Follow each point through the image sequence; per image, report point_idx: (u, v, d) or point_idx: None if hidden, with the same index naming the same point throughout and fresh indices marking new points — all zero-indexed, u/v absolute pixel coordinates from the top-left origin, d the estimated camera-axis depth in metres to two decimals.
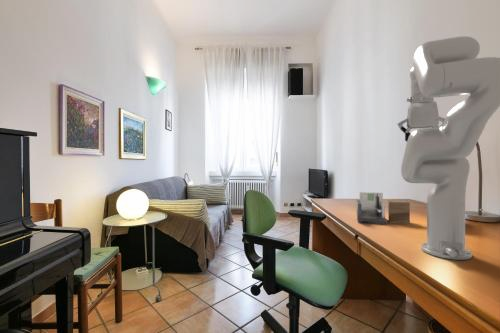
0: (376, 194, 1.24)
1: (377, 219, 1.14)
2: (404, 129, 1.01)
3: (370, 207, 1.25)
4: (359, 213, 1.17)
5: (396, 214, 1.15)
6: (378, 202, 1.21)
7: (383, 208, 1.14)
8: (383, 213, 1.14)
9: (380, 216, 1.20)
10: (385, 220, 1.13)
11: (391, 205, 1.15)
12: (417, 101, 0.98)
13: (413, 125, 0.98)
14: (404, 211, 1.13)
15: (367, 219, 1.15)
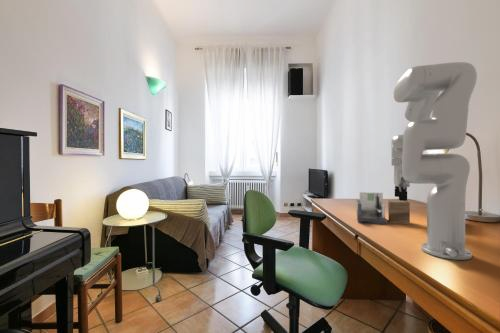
0: (376, 194, 1.24)
1: (377, 219, 1.14)
2: None
3: (370, 207, 1.25)
4: (359, 213, 1.17)
5: (396, 214, 1.15)
6: (378, 202, 1.21)
7: (383, 208, 1.14)
8: (383, 213, 1.14)
9: (380, 216, 1.20)
10: (385, 220, 1.13)
11: (391, 205, 1.15)
12: None
13: None
14: (404, 211, 1.13)
15: (367, 219, 1.15)
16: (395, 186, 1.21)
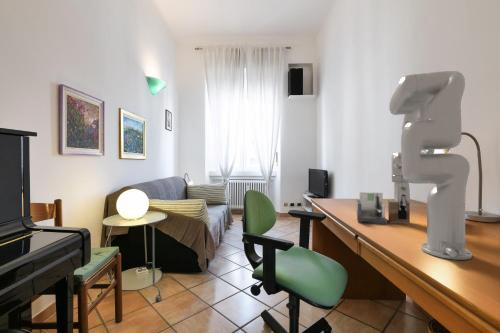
0: (376, 194, 1.24)
1: (377, 219, 1.14)
2: None
3: (370, 207, 1.25)
4: (359, 213, 1.17)
5: (395, 213, 1.15)
6: (378, 202, 1.21)
7: (383, 208, 1.14)
8: (383, 213, 1.14)
9: (380, 216, 1.20)
10: (385, 220, 1.13)
11: (391, 205, 1.15)
12: (409, 181, 1.12)
13: None
14: None
15: (367, 219, 1.15)
16: None
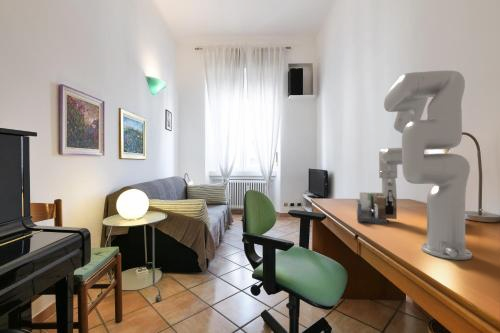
0: (376, 194, 1.24)
1: (377, 219, 1.14)
2: (391, 203, 1.13)
3: (370, 207, 1.25)
4: (359, 213, 1.17)
5: (383, 209, 1.16)
6: (372, 202, 1.22)
7: (376, 208, 1.15)
8: (376, 213, 1.16)
9: None
10: (385, 220, 1.13)
11: (378, 200, 1.17)
12: (396, 177, 1.14)
13: (396, 198, 1.13)
14: None
15: (367, 219, 1.15)
16: None
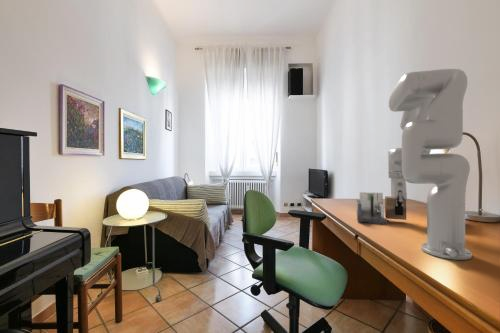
0: (376, 194, 1.24)
1: (377, 219, 1.14)
2: None
3: (370, 207, 1.25)
4: (359, 213, 1.17)
5: (392, 209, 1.15)
6: (372, 202, 1.22)
7: (382, 208, 1.15)
8: (382, 213, 1.15)
9: (379, 215, 1.20)
10: (385, 220, 1.13)
11: (388, 201, 1.15)
12: None
13: None
14: None
15: (367, 219, 1.15)
16: None
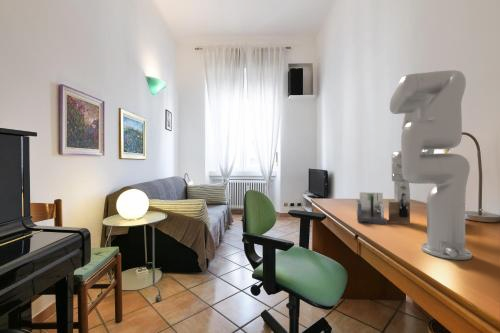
0: (376, 194, 1.24)
1: (377, 219, 1.14)
2: None
3: (370, 207, 1.25)
4: (359, 213, 1.17)
5: (396, 214, 1.14)
6: (372, 202, 1.22)
7: (382, 208, 1.15)
8: (382, 213, 1.15)
9: (379, 215, 1.20)
10: (385, 220, 1.13)
11: (391, 205, 1.15)
12: None
13: None
14: None
15: (367, 219, 1.15)
16: None
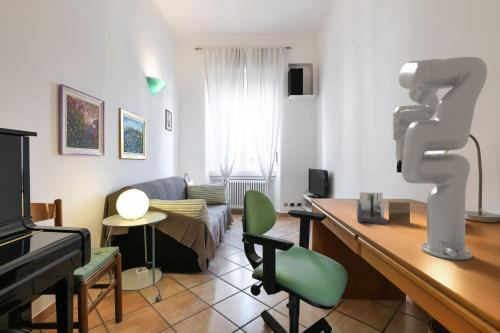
0: (376, 194, 1.24)
1: (377, 219, 1.14)
2: None
3: (370, 207, 1.25)
4: (359, 213, 1.17)
5: (396, 214, 1.14)
6: (372, 202, 1.22)
7: (382, 208, 1.15)
8: (382, 213, 1.15)
9: (379, 215, 1.20)
10: (385, 220, 1.13)
11: (391, 205, 1.15)
12: None
13: None
14: (405, 211, 1.13)
15: (367, 219, 1.15)
16: (397, 162, 1.19)
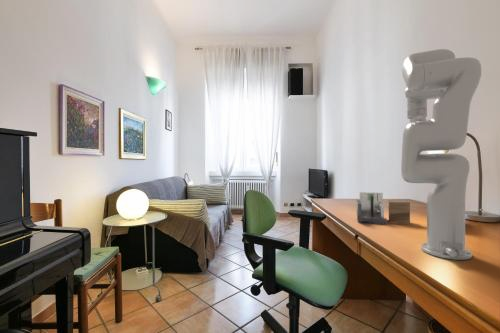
0: (376, 194, 1.24)
1: (377, 219, 1.14)
2: None
3: (370, 207, 1.25)
4: (359, 213, 1.17)
5: (396, 214, 1.14)
6: (372, 202, 1.22)
7: (382, 208, 1.15)
8: (382, 213, 1.15)
9: (379, 215, 1.20)
10: (385, 220, 1.13)
11: (391, 205, 1.15)
12: (426, 115, 1.11)
13: None
14: (405, 211, 1.13)
15: (367, 219, 1.15)
16: None
